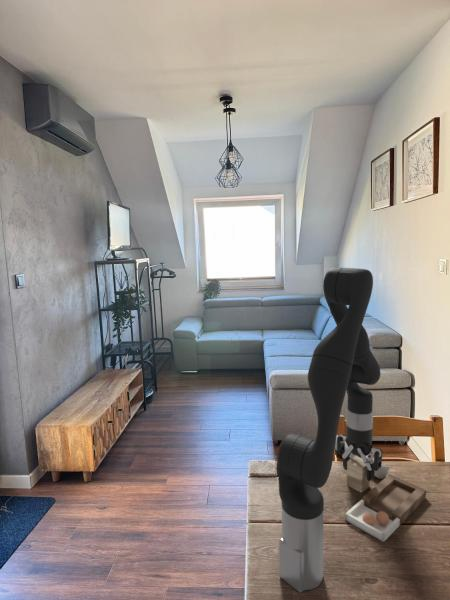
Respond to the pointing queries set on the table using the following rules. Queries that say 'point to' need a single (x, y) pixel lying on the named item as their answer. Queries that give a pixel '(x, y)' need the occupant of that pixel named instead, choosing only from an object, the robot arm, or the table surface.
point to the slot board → (394, 498)
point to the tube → (382, 471)
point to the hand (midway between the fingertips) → (358, 474)
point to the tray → (376, 530)
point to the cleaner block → (357, 474)
